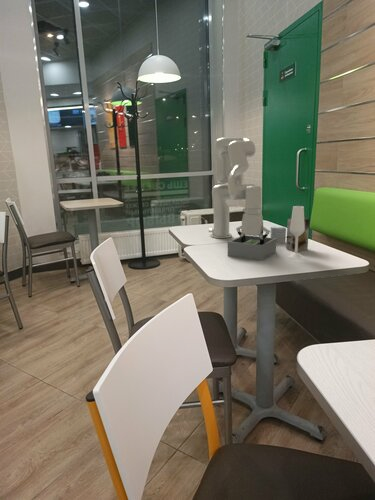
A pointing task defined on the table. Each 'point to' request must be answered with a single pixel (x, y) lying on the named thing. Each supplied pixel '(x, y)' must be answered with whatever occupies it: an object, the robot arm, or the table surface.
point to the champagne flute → (297, 227)
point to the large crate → (252, 248)
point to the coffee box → (301, 239)
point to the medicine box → (278, 234)
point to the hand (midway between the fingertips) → (252, 245)
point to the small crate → (253, 242)
